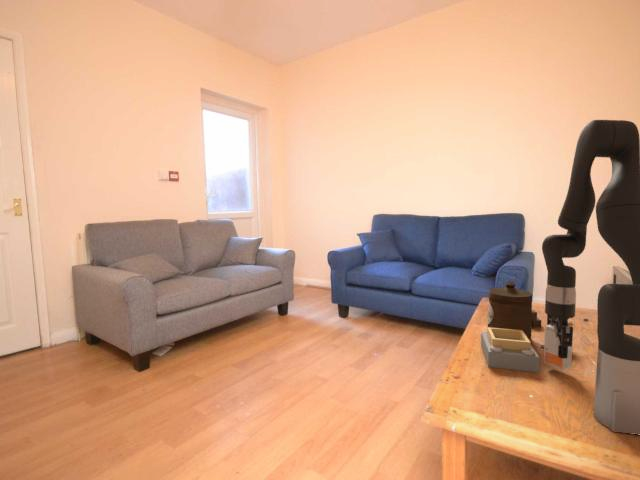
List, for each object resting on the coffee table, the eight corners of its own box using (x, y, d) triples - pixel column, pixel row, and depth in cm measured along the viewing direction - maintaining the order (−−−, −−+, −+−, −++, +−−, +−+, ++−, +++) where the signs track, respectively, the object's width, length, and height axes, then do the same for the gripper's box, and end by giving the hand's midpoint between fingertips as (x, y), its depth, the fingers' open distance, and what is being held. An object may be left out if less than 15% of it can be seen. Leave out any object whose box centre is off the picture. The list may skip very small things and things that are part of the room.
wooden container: (495, 327, 143) (497, 276, 141) (536, 337, 133) (538, 281, 130) (481, 337, 133) (482, 282, 131) (523, 348, 123) (526, 288, 120)
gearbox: (538, 372, 106) (539, 347, 105) (488, 366, 110) (488, 342, 109) (523, 348, 123) (524, 327, 122) (480, 344, 127) (481, 323, 126)
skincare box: (542, 362, 108) (544, 325, 107) (551, 359, 109) (552, 323, 108) (563, 370, 102) (565, 331, 101) (572, 367, 104) (573, 329, 103)
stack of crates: (537, 319, 153) (537, 305, 153) (556, 332, 138) (557, 315, 138) (502, 319, 155) (502, 304, 154) (517, 331, 140) (518, 315, 139)
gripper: (585, 307, 96) (582, 364, 98) (565, 295, 110) (563, 345, 111) (554, 305, 98) (551, 361, 100) (538, 293, 112) (536, 342, 113)
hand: (557, 352), depth 106 cm, fingers closed on skincare box, 7 cm apart
